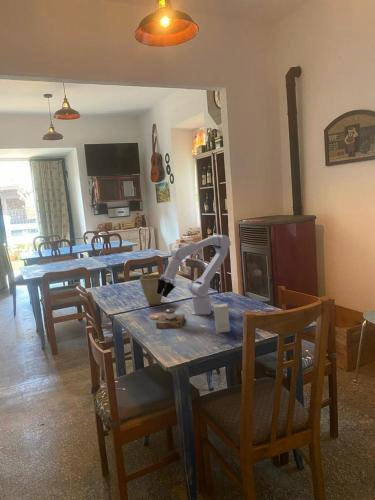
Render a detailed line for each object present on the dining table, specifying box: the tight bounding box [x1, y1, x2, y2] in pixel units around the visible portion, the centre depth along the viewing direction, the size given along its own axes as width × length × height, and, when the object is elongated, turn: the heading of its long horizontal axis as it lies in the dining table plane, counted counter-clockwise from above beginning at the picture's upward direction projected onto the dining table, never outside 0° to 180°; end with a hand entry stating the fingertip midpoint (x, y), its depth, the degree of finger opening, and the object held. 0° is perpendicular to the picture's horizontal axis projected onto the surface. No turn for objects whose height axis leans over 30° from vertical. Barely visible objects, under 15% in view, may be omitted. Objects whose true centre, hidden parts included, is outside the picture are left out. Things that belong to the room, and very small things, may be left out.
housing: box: [155, 313, 186, 329], centre depth 187 cm, size 12×12×2 cm
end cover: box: [164, 307, 176, 320], centre depth 187 cm, size 5×5×7 cm
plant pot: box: [139, 273, 164, 305], centre depth 226 cm, size 15×15×16 cm
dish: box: [149, 312, 166, 321], centre depth 199 cm, size 9×9×1 cm
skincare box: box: [213, 303, 231, 334], centre depth 171 cm, size 6×4×12 cm
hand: (161, 295), depth 190 cm, fingers open, 7 cm apart
